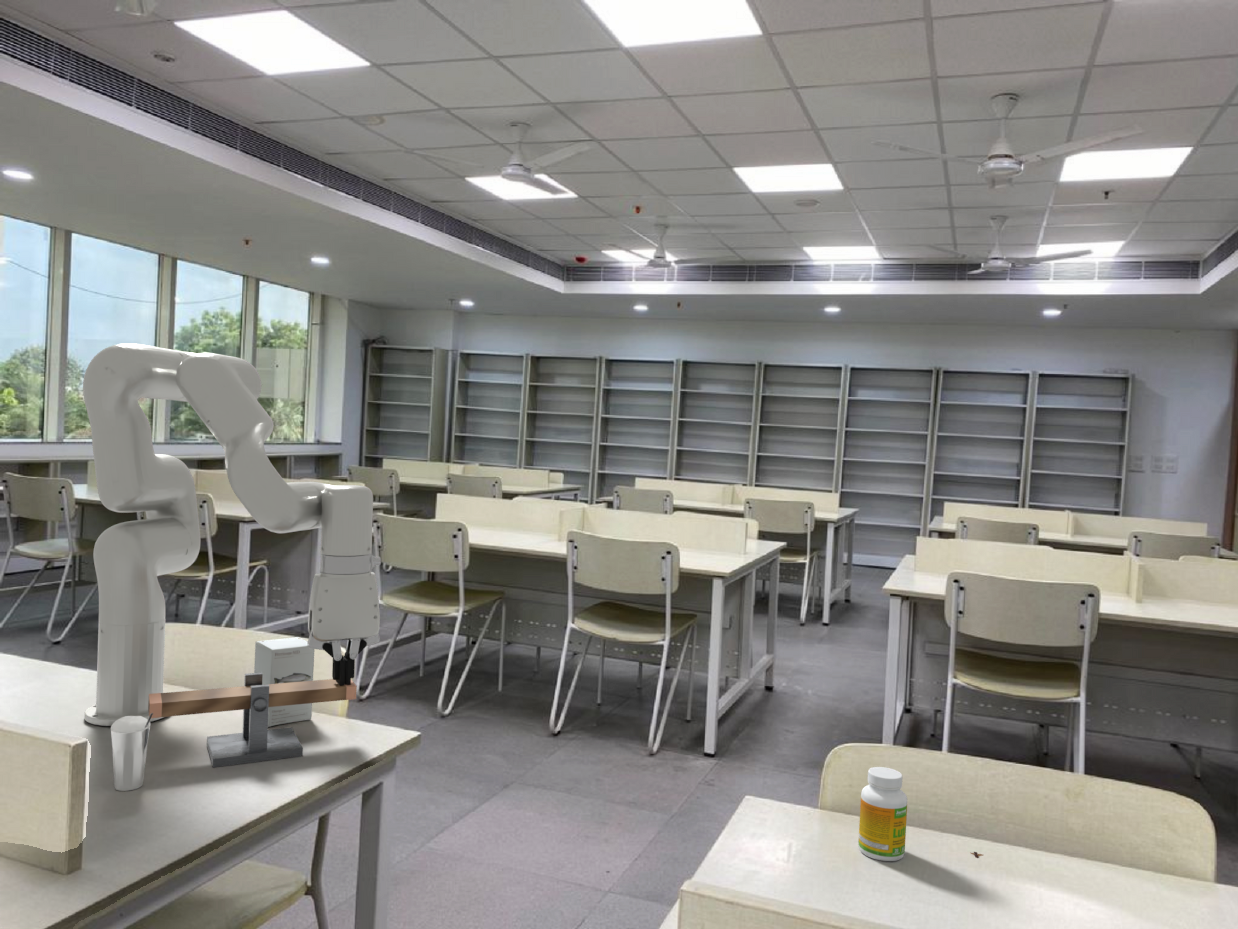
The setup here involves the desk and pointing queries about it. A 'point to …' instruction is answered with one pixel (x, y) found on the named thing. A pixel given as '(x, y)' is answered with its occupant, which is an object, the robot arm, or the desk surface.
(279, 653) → the supplement box
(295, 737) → the beam stand
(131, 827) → the desk surface
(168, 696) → the beam
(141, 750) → the milkshake
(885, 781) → the supplement bottle
